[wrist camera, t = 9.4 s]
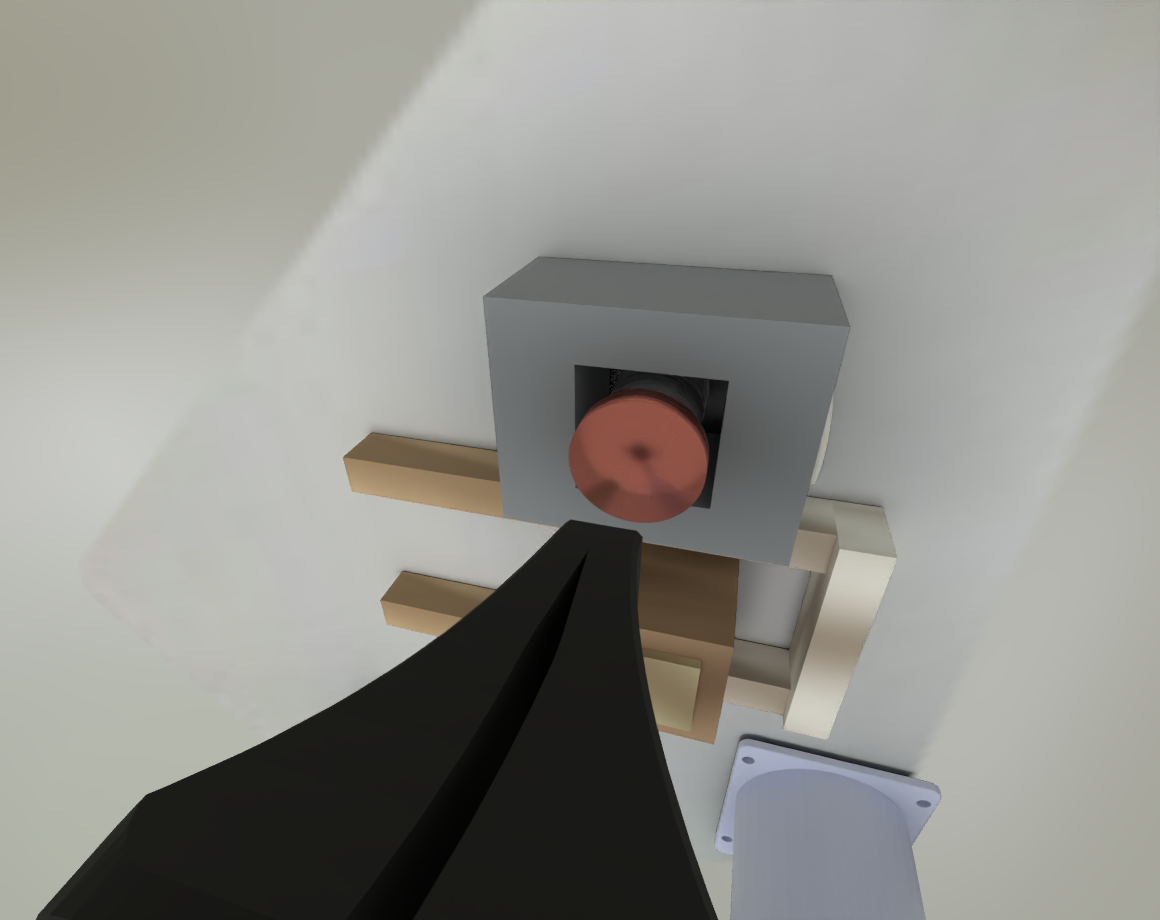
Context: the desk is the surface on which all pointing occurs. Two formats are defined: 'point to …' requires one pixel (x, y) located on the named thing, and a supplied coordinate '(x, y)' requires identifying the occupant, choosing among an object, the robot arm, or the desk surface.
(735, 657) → the channel
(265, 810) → the robot arm
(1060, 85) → the desk surface
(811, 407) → the grey housing block
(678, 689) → the block
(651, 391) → the plunger
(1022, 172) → the desk surface
